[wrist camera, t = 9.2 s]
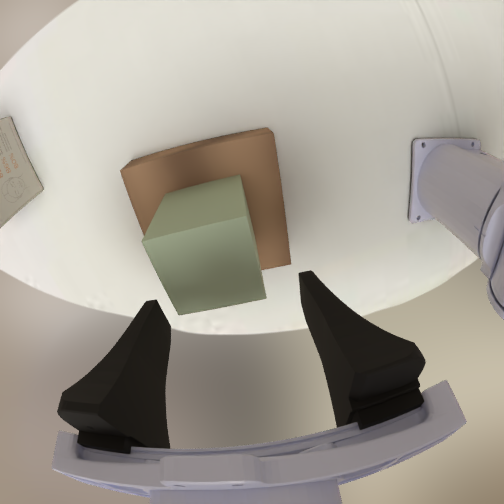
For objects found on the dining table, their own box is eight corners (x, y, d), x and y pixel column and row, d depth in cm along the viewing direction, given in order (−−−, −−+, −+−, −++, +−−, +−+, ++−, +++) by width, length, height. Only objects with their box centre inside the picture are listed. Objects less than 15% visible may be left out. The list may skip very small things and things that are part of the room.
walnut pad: (266, 126, 18) (273, 133, 16) (283, 243, 24) (291, 264, 21) (133, 158, 18) (119, 170, 16) (171, 265, 24) (167, 287, 21)
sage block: (240, 174, 17) (246, 216, 12) (255, 240, 20) (266, 298, 15) (165, 193, 17) (141, 241, 12) (188, 255, 20) (178, 315, 15)
